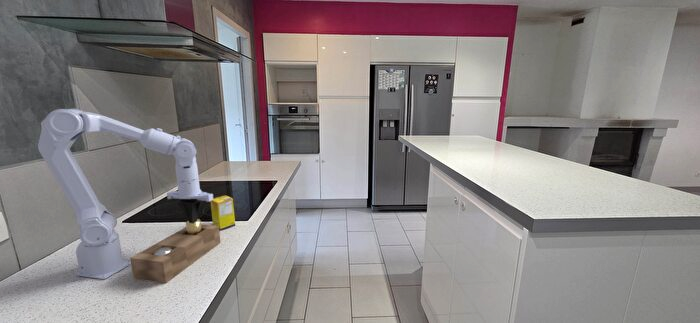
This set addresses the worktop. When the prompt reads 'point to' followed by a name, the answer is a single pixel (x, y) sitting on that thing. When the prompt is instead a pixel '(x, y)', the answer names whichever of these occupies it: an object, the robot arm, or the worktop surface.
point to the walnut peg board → (174, 254)
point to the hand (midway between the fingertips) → (193, 221)
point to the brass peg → (193, 227)
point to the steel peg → (162, 251)
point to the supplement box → (223, 212)
